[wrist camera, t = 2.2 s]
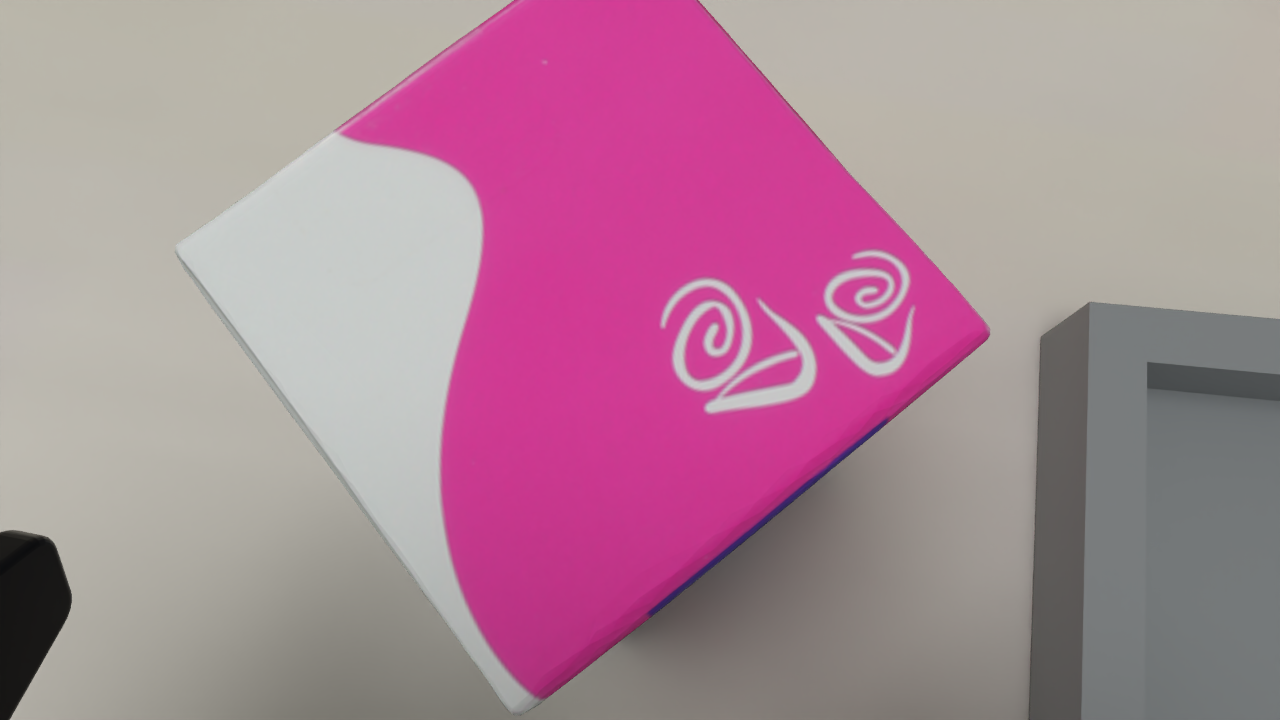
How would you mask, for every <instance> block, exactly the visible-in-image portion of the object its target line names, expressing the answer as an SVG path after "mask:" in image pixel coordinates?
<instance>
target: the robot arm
mask: <svg viewBox="0 0 1280 720" xmlns="http://www.w3.org/2000/svg"><path fill="white" fill-rule="evenodd" d="M71 603H72V594H71V590H70V587H69V584H68V581H67V578H66V575H65V572H64V569H63V566H62V563H61V560H60V557H59V554H58V551H57V548H56V546H55V544H54V542H53V541H52V540H50V539H49V538H48V537H45V536H42V535H37V534H32V533H27V532H22V531H16V530H9V531H4V532H1V533H0V720H10V718H11V716H12V714H13V713H14V711H15V709H16V707H17V706H18V704H19V702H20V700H21V699H22V697H23V695H24V693H25V692H26V690H27V688H28V686H29V685H30V683H31V681H32V679H33V678H34V676H35V674H36V672H37V671H38V669H39V667H40V665H41V664H42V662H43V660H44V658H45V656H46V655H47V653H48V651H49V649H50V648H51V646H52V644H53V642H54V641H55V639H56V637H57V635H58V634H59V632H60V630H61V628H62V627H63V625H64V623H65V621H66V619H67V617H68V614H69V612H70V608H71Z"/></svg>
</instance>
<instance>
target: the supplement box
mask: <svg viewBox="0 0 1280 720" xmlns="http://www.w3.org/2000/svg"><path fill="white" fill-rule="evenodd" d="M175 253H176V255H177V257H178V259H179V261H180V263H181V265H182V267H183V268H184V270H185V271H186V272H187V273H188V275H189V276H190V277H191V278H192V280H193V281H194V283H195V284H196V286H197V287H198V289H199V290H200V291H201V293H202V294H203V296H204V297H205V299H206V300H207V302H208V303H209V304H210V306H211V307H212V309H213V310H214V311H215V313H216V314H217V315H218V317H219V318H220V319H221V321H222V322H223V324H224V325H225V326H226V328H227V329H228V330H229V332H230V333H231V334H232V336H233V337H234V338H235V340H236V341H237V342H238V344H239V345H240V347H241V348H242V349H243V351H244V352H245V353H246V355H247V356H248V357H249V359H250V360H251V361H252V363H253V364H254V365H255V367H256V368H257V370H258V371H259V372H260V374H261V375H262V376H263V378H264V379H265V380H266V382H267V383H268V384H269V386H270V387H271V389H272V390H273V391H274V393H275V394H276V395H277V397H278V398H279V399H280V401H281V402H282V404H283V405H284V406H285V408H286V409H287V410H288V412H289V413H290V414H291V416H292V417H293V418H294V420H295V421H296V422H297V424H298V425H299V426H300V428H301V429H302V430H303V432H304V433H305V434H306V436H307V437H308V438H309V440H310V441H311V442H312V444H313V445H314V446H315V448H316V449H317V450H318V452H319V453H320V454H321V456H322V457H323V458H324V460H325V461H326V462H327V464H328V465H329V466H330V468H331V469H332V471H333V472H334V473H335V475H336V476H337V477H338V479H339V480H340V482H341V483H342V484H343V486H344V487H345V488H346V490H347V491H348V493H349V494H350V495H351V497H352V498H353V499H354V501H355V502H356V503H357V505H358V506H359V508H360V509H361V510H362V512H363V513H364V514H365V516H366V517H367V518H368V520H369V521H370V522H371V524H372V525H373V526H374V528H375V529H376V530H377V532H378V533H379V534H380V536H381V537H382V538H383V540H384V541H385V542H386V544H387V545H388V546H389V548H390V549H391V550H392V552H393V553H394V554H395V556H396V557H397V558H398V560H399V561H400V562H401V564H402V565H403V566H404V568H405V569H406V570H407V572H408V573H409V574H410V576H411V577H412V578H413V580H414V581H415V582H416V584H417V585H418V586H419V588H420V589H421V590H422V592H423V593H424V594H425V596H426V597H427V598H428V600H429V601H430V602H431V604H432V605H433V606H434V608H435V609H436V610H437V612H438V613H439V614H440V616H441V617H442V618H443V620H444V621H445V622H446V624H447V625H448V627H449V628H450V629H451V631H452V632H453V634H454V635H455V636H456V638H457V639H458V641H459V642H460V643H461V645H462V646H463V648H464V649H465V650H466V652H467V653H468V655H469V656H470V657H471V659H472V660H473V661H474V663H475V664H476V665H477V667H478V668H479V669H480V671H481V672H482V674H483V675H484V676H485V678H486V679H487V680H488V682H489V683H490V685H491V686H492V688H493V690H494V691H495V693H496V694H497V696H498V697H499V699H500V700H501V702H502V703H503V704H504V706H505V707H506V708H507V710H508V711H509V712H511V713H512V714H513V715H522V714H524V713H525V712H527V711H529V710H531V709H532V708H534V707H536V706H538V705H539V704H540V703H542V702H543V701H544V700H545V699H547V698H548V697H549V696H550V695H552V694H553V693H554V692H556V691H557V690H558V689H559V688H561V687H562V686H563V685H565V684H566V683H567V682H569V681H570V680H571V679H572V678H574V677H575V676H576V675H578V674H579V673H580V672H582V671H583V670H584V669H585V668H587V667H588V666H589V665H590V664H592V663H593V662H594V661H595V660H597V659H598V658H599V657H600V656H602V655H603V654H604V653H605V652H607V651H608V650H609V649H610V648H612V647H613V646H614V645H616V644H617V643H618V642H619V641H621V640H622V639H623V638H625V637H626V636H627V635H628V634H630V633H631V632H632V631H634V630H635V629H636V628H637V627H639V626H640V625H641V624H643V623H644V622H645V621H646V620H648V619H649V618H650V617H651V616H653V615H654V614H655V613H657V612H658V611H659V610H660V609H662V608H663V607H664V606H666V605H667V604H668V603H669V602H670V601H672V600H673V599H674V598H675V597H677V596H678V595H679V594H680V593H682V592H683V591H684V590H685V589H687V588H688V587H689V586H690V585H691V584H693V583H694V582H695V581H696V580H698V579H699V578H700V577H701V576H703V575H704V574H705V573H706V572H708V571H709V570H710V569H711V568H712V567H714V566H715V565H716V564H717V563H719V562H720V561H721V560H722V559H724V558H725V557H726V556H727V555H728V554H730V553H731V552H732V551H733V550H734V549H736V548H737V547H738V546H739V545H741V544H742V543H743V542H744V541H745V540H747V539H748V538H749V537H750V536H752V535H753V534H754V533H755V532H756V531H758V530H759V529H760V528H761V527H763V526H764V525H765V524H766V523H767V522H769V521H770V520H771V519H772V518H773V517H775V516H776V515H777V514H778V513H780V512H781V511H782V510H783V509H784V508H786V507H787V506H788V505H789V504H790V503H792V502H793V501H794V500H795V499H796V498H798V497H799V496H800V495H801V494H803V493H804V492H805V491H806V490H807V489H809V488H810V487H811V486H812V485H813V484H815V483H816V482H817V481H818V480H819V479H821V478H822V477H823V476H824V475H825V474H827V473H828V472H829V471H830V470H831V469H833V468H834V467H835V466H836V465H837V464H839V463H840V462H841V461H842V460H843V459H845V458H846V457H847V456H848V455H850V454H851V453H852V452H853V451H854V450H856V449H857V448H858V447H859V446H861V445H862V444H863V443H864V442H865V441H867V440H868V439H869V438H870V437H872V436H873V435H874V434H875V433H876V432H878V431H879V430H880V429H881V428H882V427H884V426H885V425H886V424H887V423H888V422H890V421H891V420H892V419H893V418H894V417H896V416H897V415H898V414H899V413H900V412H902V411H903V410H904V409H905V408H906V407H908V406H909V405H910V404H911V403H912V402H914V401H915V400H916V399H917V398H918V397H920V396H921V395H922V394H923V393H924V392H926V391H927V390H928V389H929V388H930V387H932V386H933V385H934V384H935V383H936V382H938V381H939V380H940V379H941V378H942V377H944V376H945V375H946V374H947V373H948V372H949V371H951V370H952V369H953V368H954V367H955V366H957V365H958V364H959V363H960V362H961V361H963V360H964V359H965V358H966V357H967V356H969V355H970V354H971V353H972V352H973V351H975V350H976V349H977V348H978V347H979V346H980V345H982V344H983V343H984V342H985V341H986V340H987V339H988V337H989V336H990V328H989V326H988V325H987V324H986V322H985V321H984V320H983V319H982V318H981V316H980V315H979V314H978V313H977V312H976V311H975V309H974V308H973V307H972V306H971V305H970V304H969V302H968V301H967V300H966V299H965V298H964V297H963V295H962V294H961V293H960V292H959V291H958V290H957V288H956V287H955V286H954V285H953V284H952V283H951V282H950V281H949V280H948V279H947V278H946V277H945V275H944V274H943V273H942V272H941V271H940V270H939V269H938V267H937V266H936V265H935V264H934V263H933V262H932V261H931V260H930V259H929V258H928V257H927V255H926V254H925V253H924V252H923V251H922V250H921V249H920V248H919V247H918V245H917V244H916V243H915V242H914V241H913V240H912V239H911V238H910V237H909V236H908V235H907V234H906V233H905V231H904V230H903V229H902V228H901V227H900V226H899V225H898V224H897V223H896V222H895V221H894V220H893V219H892V218H891V217H890V216H889V214H888V213H887V212H886V211H885V210H884V209H883V208H882V207H881V206H880V205H879V204H878V203H877V202H876V201H875V200H874V199H873V198H872V197H871V196H870V194H869V193H868V192H867V191H866V190H865V189H864V188H863V187H862V186H861V185H860V184H859V183H858V182H857V181H856V180H855V179H854V178H853V177H852V176H851V175H850V174H849V172H848V171H847V170H846V169H845V168H844V167H843V165H842V164H841V163H840V162H839V161H838V160H837V159H836V157H835V156H834V155H833V154H832V153H831V152H830V150H829V149H828V148H827V147H826V146H825V145H824V143H823V142H822V141H821V140H820V139H819V138H818V136H817V135H816V134H815V133H814V132H813V131H812V129H811V128H810V127H809V126H808V125H807V124H806V122H805V121H804V120H803V119H802V118H801V117H800V116H799V114H798V113H797V112H796V111H795V110H794V109H793V108H792V107H791V106H790V104H789V103H788V102H787V101H786V100H785V99H784V98H783V97H782V95H781V94H780V93H779V92H778V91H777V89H776V88H775V87H774V86H773V85H772V84H771V82H770V81H769V80H768V79H767V78H766V77H765V76H764V74H763V73H762V72H761V71H760V70H759V69H758V68H757V67H756V65H755V64H754V63H753V62H752V61H751V60H750V59H749V57H748V56H747V55H746V54H745V53H744V52H743V51H742V50H741V48H740V47H739V46H738V45H737V44H736V43H735V41H734V40H733V39H732V38H731V37H730V35H729V34H728V33H727V32H726V31H725V30H724V29H723V28H722V26H721V25H720V24H719V23H718V22H717V21H716V20H715V19H714V17H713V16H712V15H711V14H710V13H709V12H708V11H707V10H706V8H705V7H704V6H703V5H702V4H701V3H700V2H699V1H698V0H514V1H512V2H511V3H510V4H508V5H507V6H506V7H505V8H503V9H502V10H500V11H499V12H497V13H496V14H495V15H493V16H492V17H490V18H489V19H488V20H486V21H485V22H483V23H482V24H480V25H479V26H478V27H476V28H475V29H473V30H472V31H470V32H469V33H468V34H466V35H465V36H463V37H462V38H460V39H459V40H457V41H456V42H455V43H453V44H452V45H450V46H449V47H448V48H446V49H445V50H444V51H442V52H441V53H439V54H438V55H437V56H435V57H434V58H432V59H431V60H430V61H428V62H427V63H426V64H424V65H423V66H421V67H420V68H419V69H417V70H416V71H415V72H413V73H412V74H411V75H409V76H408V77H407V78H405V79H404V80H403V81H402V82H400V83H399V84H398V85H396V86H395V87H394V88H392V89H391V90H389V91H388V92H387V93H385V94H384V95H382V96H381V97H380V98H378V99H377V100H375V101H374V102H373V103H371V104H370V105H368V106H367V107H366V108H364V109H363V110H362V111H360V112H359V113H357V114H356V115H355V116H353V117H352V118H350V119H349V120H348V121H346V122H345V123H344V124H342V125H341V126H340V127H338V128H337V129H335V130H334V131H333V132H331V133H330V134H329V135H327V136H326V137H324V138H323V139H321V140H320V141H319V142H317V143H316V144H314V145H313V146H312V147H311V148H309V149H308V150H307V151H306V152H304V153H303V154H302V155H300V156H299V157H298V158H296V159H295V160H294V161H292V162H291V163H290V164H288V165H287V166H286V167H284V168H283V169H281V170H280V171H279V172H277V173H276V174H275V175H273V176H272V177H271V178H269V179H268V180H267V181H265V182H264V183H263V184H261V185H260V186H259V187H257V188H256V189H255V190H253V191H252V192H251V193H249V194H248V195H246V196H245V197H243V198H242V199H240V200H239V201H237V202H236V203H235V204H233V205H232V206H231V207H229V208H228V209H227V210H225V211H224V212H222V213H221V214H220V215H218V216H217V217H216V218H214V219H213V220H211V221H210V222H208V223H207V224H205V225H204V226H202V227H201V228H199V229H198V230H196V231H195V232H194V233H192V234H191V235H189V236H188V237H186V238H185V239H183V240H182V241H180V242H179V243H178V244H176V249H175Z"/></svg>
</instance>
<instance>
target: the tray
mask: <svg viewBox="0 0 1280 720" xmlns="http://www.w3.org/2000/svg"><path fill="white" fill-rule="evenodd" d="M1029 720H1280V319H1271V318H1260V317H1249V316H1238V315H1227V314H1216V313H1205V312H1194V311H1183V310H1172V309H1161V308H1150V307H1139V306H1128V305H1117V304H1106V303H1095V302H1089V303H1088V304H1086V305H1085V306H1083V307H1082V308H1081V309H1079V310H1078V311H1076V312H1075V313H1074V314H1072V315H1071V316H1069V317H1068V318H1067V319H1065V320H1064V321H1062V322H1061V323H1060V324H1058V325H1057V326H1055V327H1054V328H1053V329H1051V330H1050V331H1049V332H1047V333H1046V334H1044V335H1043V336H1042V337H1041V356H1040V389H1039V421H1038V454H1037V486H1036V519H1035V551H1034V584H1033V616H1032V649H1031V681H1030V714H1029Z"/></svg>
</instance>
